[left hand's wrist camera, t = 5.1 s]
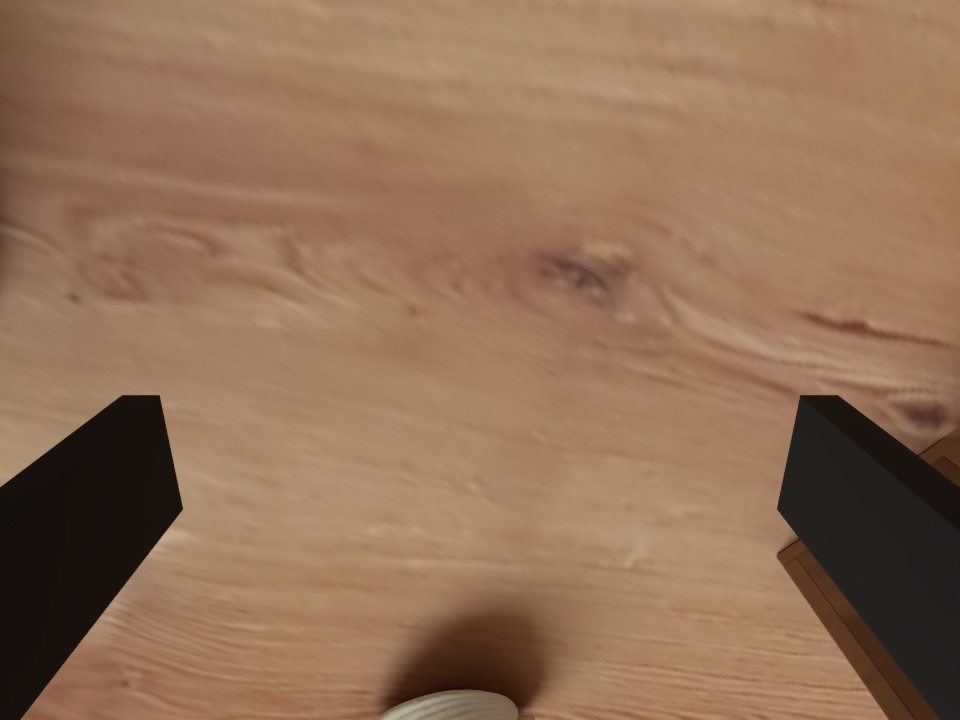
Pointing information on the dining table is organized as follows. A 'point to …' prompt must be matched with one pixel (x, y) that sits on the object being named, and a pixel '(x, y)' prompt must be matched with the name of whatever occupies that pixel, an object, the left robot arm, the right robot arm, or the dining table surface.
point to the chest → (846, 626)
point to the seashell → (456, 707)
